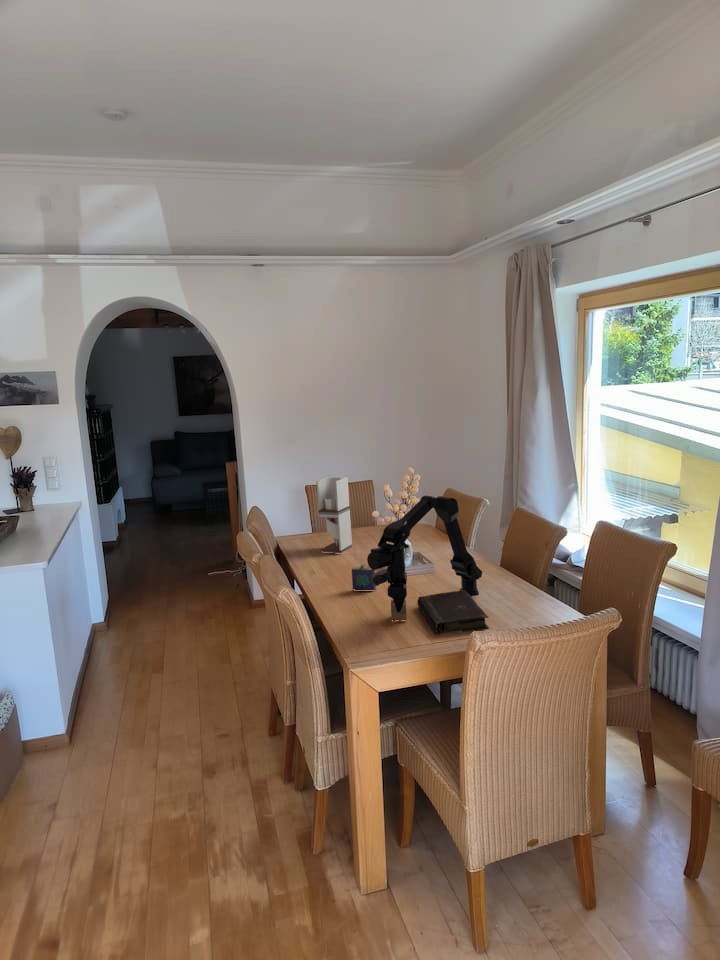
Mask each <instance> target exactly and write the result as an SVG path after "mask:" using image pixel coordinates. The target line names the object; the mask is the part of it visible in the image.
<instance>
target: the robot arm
mask: <svg viewBox="0 0 720 960" xmlns="http://www.w3.org/2000/svg"><path fill="white" fill-rule="evenodd" d="M432 509H434V512H435V514H436V515H437V516H438V517H439V518H440V519H441V520H442V522H443V524H444V528H445V531H446V535H447V537H448V539H449V543H450V547H451V550H452V554H453V556H452V559H450V560H449V562H450V565H451V570H453V571H454V573H455V575H456V576H457V577H458V576H459V577H461V578H460V580H461V581H460V582H461V583H460V584H461V587H460V588H459V591H464V590H466V592H467V593H468V594H469V595H470V596H472V595H473V596H474V595H479V594H480V592H479V589H478V583H477V582H478V581H477V580H479V579H481V578H482V577H483V576H482V575H483V571H482V570H481V568H480V567H478V566H477V563H476V561H475V559H474V557H473V556H472V555H471V553H469V551H468V550H467V547H466V544H465V543H466V542H465V541H464V538H463V534H462V531H461V527H460V523H459V521H458V516H459V513H460V512H459V511H460V510H459V503H458V500H457V499H456V498H453V497H449V496H443V495H442V496H441V495H439V496H437V497H435V496H433V495H432V496H431V495H423V496H422V497H421V498H420V500H419V501H418V502H417V503H416V504H415V505H413V507H412V508H411V509H410V510H409V511H407V512H406V513H405V514H404V515H403V516H402V517H400V519H398V520H395V521H392V522H391V523H389V524H388V525H386V526H385V528H383V532H382V535H381V536H380V539H379V541H378V543H377V547H376V548H374V547H373V548H371V549H370V553H369V554H368V555H367V558H366V560H367V565H368V568H371V569H372V570H375V573H374V574H373V575H372V580H373V583H374V584H375V586H376V587H379V586H380V585H382V584H384V583H387V584H389V585H388V586H387V596H388V597H389V598H391V599H392V600H394V603H395V607H396V610H397V612H400V611H401V609H402V606H403V603H404V600H406V597H407V595H408V593H407V592H408V591H407V590H408V589H407V583H408V582H407V580H408V576H407V572H406V562H405V561H406V560H405V557H406V555H405V549H409V547H410V545H408V544H407V543H406V541H407V540H408V538H409V537H410V535H411V531H412V529H413V528H414V527H415V526H416V525H417V524H418V523H419V522H420V521H421V520H422V519H423V518H424V517H425V516H426V515H427V514H428V513H429V512H430V511H431V510H432ZM386 567H387V568H386ZM382 568H385V569H382ZM379 569H381V570H379ZM376 570H379V571H377V572H376Z"/></svg>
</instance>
